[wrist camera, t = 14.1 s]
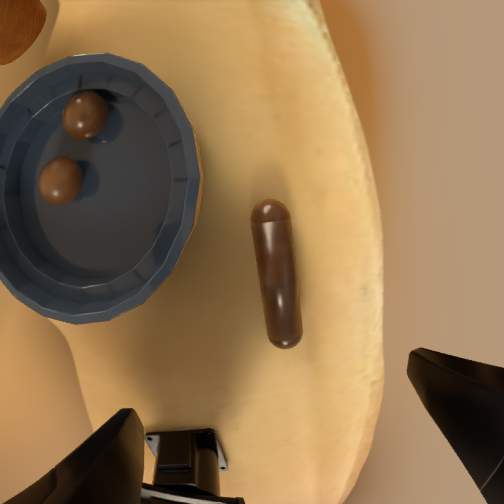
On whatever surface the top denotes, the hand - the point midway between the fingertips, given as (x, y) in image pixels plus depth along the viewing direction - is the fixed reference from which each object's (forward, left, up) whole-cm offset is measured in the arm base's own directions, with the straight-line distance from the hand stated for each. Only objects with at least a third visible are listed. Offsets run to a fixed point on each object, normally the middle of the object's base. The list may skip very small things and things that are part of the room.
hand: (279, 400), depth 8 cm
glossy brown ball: (+10, +11, -9) cm, 17 cm away
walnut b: (+13, +9, -9) cm, 18 cm away
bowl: (+8, +9, -12) cm, 17 cm away
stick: (0, -3, -12) cm, 12 cm away
